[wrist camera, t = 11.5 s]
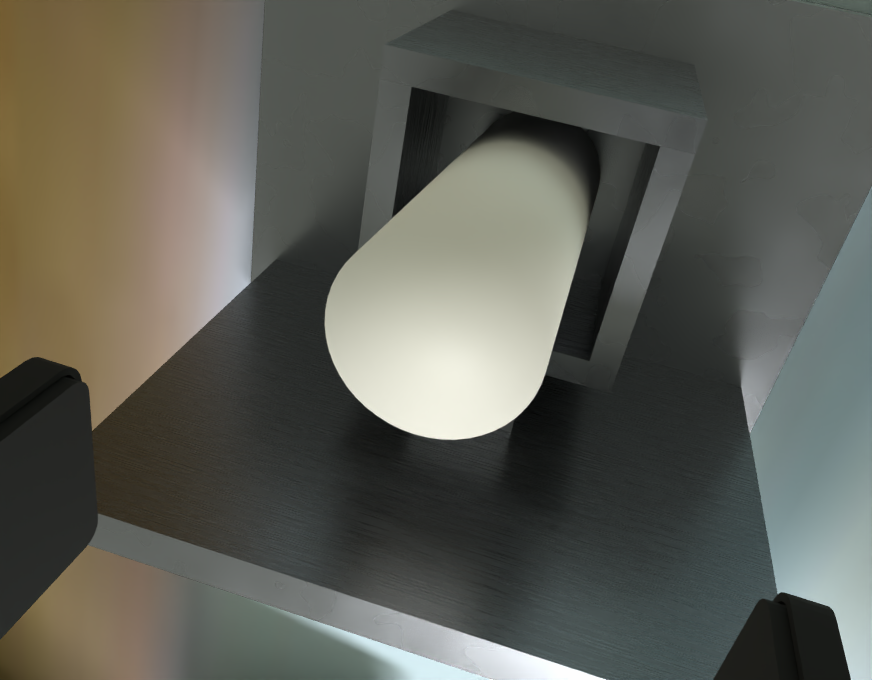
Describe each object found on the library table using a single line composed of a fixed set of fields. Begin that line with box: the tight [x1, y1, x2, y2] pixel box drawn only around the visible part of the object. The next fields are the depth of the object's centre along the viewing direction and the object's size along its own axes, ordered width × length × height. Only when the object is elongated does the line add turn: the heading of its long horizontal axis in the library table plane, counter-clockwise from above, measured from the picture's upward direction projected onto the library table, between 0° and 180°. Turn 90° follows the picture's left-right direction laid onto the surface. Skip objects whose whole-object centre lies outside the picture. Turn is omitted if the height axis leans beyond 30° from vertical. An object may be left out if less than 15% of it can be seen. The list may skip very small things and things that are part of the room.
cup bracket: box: [88, 0, 872, 680], centre depth 21 cm, size 15×20×15 cm
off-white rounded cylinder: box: [325, 112, 600, 440], centre depth 19 cm, size 4×4×12 cm
